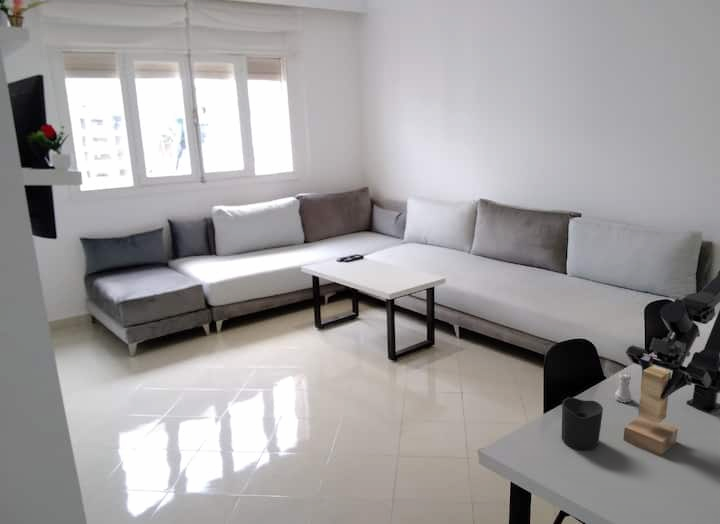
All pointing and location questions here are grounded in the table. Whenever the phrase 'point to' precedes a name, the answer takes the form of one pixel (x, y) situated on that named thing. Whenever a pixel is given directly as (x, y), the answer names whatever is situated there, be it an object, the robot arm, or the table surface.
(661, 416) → the oak pillar
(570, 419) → the pen holder
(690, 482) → the table surface
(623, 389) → the rook chess piece
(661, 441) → the light brown block
